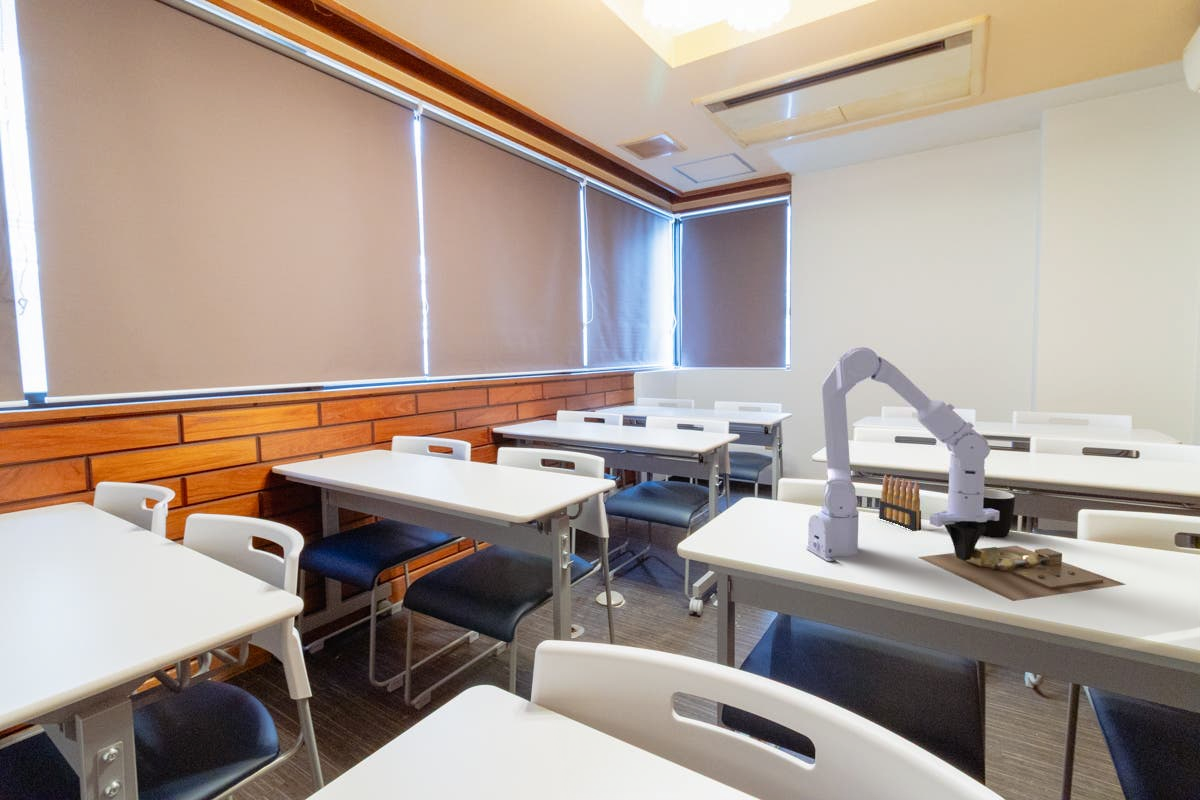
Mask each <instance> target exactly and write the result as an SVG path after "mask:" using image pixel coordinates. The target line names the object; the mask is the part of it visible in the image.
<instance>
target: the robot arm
mask: <svg viewBox="0 0 1200 800" xmlns="http://www.w3.org/2000/svg"><path fill="white" fill-rule="evenodd" d="M868 378H870V379H871V380H873V381H876V382H878V383H879V382H880V383H882V384H886V385H887V386H888V387H890V388H891V389H892V390H894V392H895V393H896V394H898V395H899V396H900V397H902V398H903V399H904V400H905V401H906V402H907V403H908V404H910V405H911V406H912V407H913V408H914V409H915V410H916V412H917V418H916V419H917V421H918V422H919V423H920V424H921V425H922V426H924V428H926V429H927V430H928V432H929V433H931V435H933V436H934V437H935V438H936V439H937V440H939V441H940V442H941V443H942V444H945V445H946V448H947V450H948V451H949V452H952V453H950V464H949V469H948V470H949V471H948V494H947V496H948V497H947V498H948V499H947V509H944V510H942V511H939V512H936V513H931V514H930V515H929V525H932V526H933V527H938V528H939V527H943V526H944V527H945V529H946V530H947V532H948V535H949V537H950V539H951V541H952V542H951V543H952V545H953V548H954V549H955V553H956V557H959V558H961V559H963V560H970V558H971V556H972V553H973V550H974V548H976V545H977V543H978V541H979V539H980V538H981V535H982V534H983V533H984V532H985V531H986V526H985V525H983V524H980V523H979V522H986V521H987V520H994V521H998V520H999V511H997V510H994V509H991V508H989V509H983V498H984V489H985V476H986V473H985V459H986V458H988V457H989V455H990V452H991V447H990V446H989V442H988V439H987V438H986V437H985V436H984V435H982V434H980V433H979V432H976V430H975V429H974V427H975V426H974V424H973V423H971V422H970V421H968V422H967V421H965V420H964V418H962V417H961V416H960V415H959V414H958V413H956V412H955V411H954V409H955V406H954V405H953V404H952V403H951V402H947V403H945V402H944V401H943V400H940V399H939V400H931V399H930V398H929V397H928V396H927V395H926V394H925V393H924V392H923V391H922V390H921V389H920V388H919V387H918V386H917V385H915V384H914V383H913V382H912V381H911V380H910V379H909V378H908V377H907V376H906V375H905V374H904V373H903V372H902V371H901V370H900V369H898V367H896V365H894V364H892V363H890V362H889V360H887V359H885V358H883V357H882V356H878V354H877V353H876V352H875V351H874V350H873V349H871V348H869V347H863V346H861V347H854V348H852V349H849V350H847V352H846V353H844V354H843V355H842V356H840V357H839V358H838V359H837V361H836V363H835V364H834V365H833V367H832V370H831V371H830V372H829V374H828V375H827V376H826V378H825V380H824V381H823V383H822V387H821V395H822V410H823V421H824V422H823V424H824V425H823V426H824V438H825V439H824V440H825V451H826V452H825V454H826V467H827V468H826V469H827V471H826V472H827V481H826V483H825V486H824V489H823V491H824V496H823V497H824V501H823V502H824V505H823V506H821V511H820V512H819V513H815V514H813V515H811V516H810V517H809V519H808V533H807V534H808V537H807V538H808V539H807V540H808V541H807V542H808V543H807V546H805V549H806V550H808V551H810V552H812V554H815V555H816V556H818V557H820V558H821V559H823V560H825V561H827V562H835V561H837V560H836V559H835V558H834V557H849V556H854V555H856V554H858V551H859V549H858V547H859V546H858V545H859V543H858V542H859V515H860V512H859V510H858V509H857V508H858V504H859V501H858V499H859V498H858V497H857V495H856V488H855V485H854V484H853V481H852V475H851V463H850V462H851V461H850V448H849V447H850V445H849V433H848V430H849V429H848V416H847V413H848V412H847V399H846V398H847V397H846V396H847V395H846V394H847V393H849V392H850V391H851V390H852V389H853V388H854V387H855V386H856V385H857V384H859V383H860V382H863V381H864V380H867V379H868Z"/></svg>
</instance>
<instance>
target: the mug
mask: <svg viewBox="0 0 1200 800" xmlns="http://www.w3.org/2000/svg"><path fill="white" fill-rule="evenodd" d="M1015 499H1016V497H1015V494H1013V493H1010V492H1009V491H1004V490H999V489H993V488H984V498H983V509H989V508H991V509H994V510H997V511H999V520H998V521H994V520H987V521H986V522H979V523H980V524H983V525H985V526H986V531H985V532H984V533H983V534H982V535H981V536H982V537H987V538H992V539H993V538H994V539H1004V538H1007V537H1008V536H1009V534H1010V530H1011V527H1012V523H1013V519H1014V512H1015V504H1016V500H1015Z"/></svg>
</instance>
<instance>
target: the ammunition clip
mask: <svg viewBox="0 0 1200 800" xmlns="http://www.w3.org/2000/svg"><path fill="white" fill-rule="evenodd" d="M883 476H884V477H883V479H882V489H881V496H880V497H881V500H880V501H879V510H878V511H879V512H878V513H879V514H878V519H879V518H880V519H883V520H886V521H889V522H892V523H895V524H898V525H900V526H903V527H905V528H908V529H910V530H912V531H911V532H917V531H922V510H920V509H921V507H920V506H921V499H920V486H919V484H918V483H919V482H918V481H916V482H915V483H914V486H913V483H912V480H911V479H909V481H908V483H907V482H906V479H905V478H903V479H902V480H900V478H899V476H898V477H897V476H896V480H894V477H893V475H891V476H890V477H889V478H888V476H887V474H886V473H885V474H884V475H883ZM910 530H909V531H910Z"/></svg>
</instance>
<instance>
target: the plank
mask: <svg viewBox="0 0 1200 800" xmlns="http://www.w3.org/2000/svg"><path fill="white" fill-rule="evenodd" d="M998 548H1000V549H1002V550H1005V551H1008V552H1011V553H1013V554H1016V555H1019V556H1023V555H1031V554H1035V551H1032V550H1029V549H1027V548H1025V547H1022V546H1018V545H1011V546H1010V545H1009V546H1008V545H1007V546H1001V547H999V546H998ZM918 558H919V559H921V560H923V561H925V562H928V563H930V564H932V565H933V566H937V568H941V569H943V570H944V571H947V572H949V573H951V574H954V575H955V576H958V577H960V578H962V579H965V580H966V581H969V582H971V583H972V584H976V585H977V586H979V587H982V588H984V589H986V590H988V591H990V592H992V593H994V594H997V595H999V596H1001V597H1004V598H1005V599H1009V600H1010V601H1012V602H1014V601H1022V600H1030V599H1036V598H1042V597H1043V598H1044V597H1049V596H1055V595H1062V594H1068V593H1075V592H1076V593H1077V592H1083V591H1089V590H1090V591H1092V590H1096V589H1097V590H1099V589H1103V588H1110V587H1116V586H1117V587H1118V586H1125V585H1126V583H1123V582H1121V581H1119V580H1115V579H1112V578H1109V577H1106V576H1104V575H1101V574H1097V573H1095V572H1093V571H1089V570H1086V569H1084V568H1081V567H1078V566H1075V565H1073V564H1069V563H1067V562H1064V561H1062V565H1065V566H1068V567H1070V568H1073V569H1076V570H1079V571H1082V572H1084V573H1087V574H1090V575H1093V576H1096V577H1098V578H1101V579H1103V583H1097V584H1090V585H1083V586H1076V587H1069V588H1062V589H1055V590H1049V589H1047V588H1044V587H1042V586H1039V585H1037V584H1035V583H1032V582H1030V581H1027V580H1025V579H1022V578H1020V577H1017V576H1015V575H1013V574H1012V571H1017V570H1024V569H1032V568H1040V567H1046V564H1040V565H1039V566H1034V567H1024V566H1022V565H1021V566H1016V567H1015V568H1014V569H1011V570H1003V571H1000V570H998V569H992V568H990V567H985V566H983V567H980V566H978V565H976V564H973V563H971V562H969V561H966V560H963V559H961V558H959V557H956V556H954V552H951V553H942V554H933V555H925V556H918Z"/></svg>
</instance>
